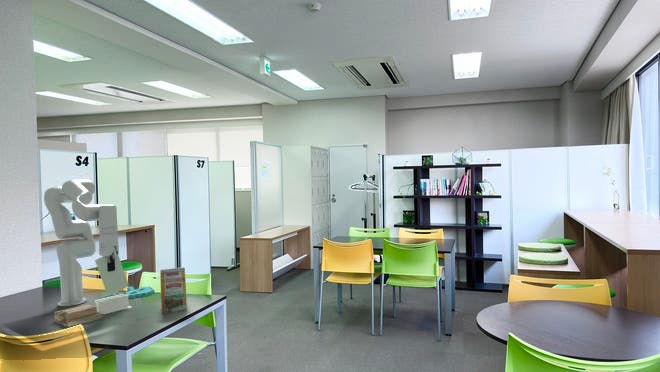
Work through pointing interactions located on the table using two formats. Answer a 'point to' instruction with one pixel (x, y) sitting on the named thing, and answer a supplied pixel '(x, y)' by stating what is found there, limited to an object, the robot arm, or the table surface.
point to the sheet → (112, 275)
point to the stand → (112, 304)
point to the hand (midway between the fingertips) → (110, 270)
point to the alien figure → (136, 292)
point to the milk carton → (173, 290)
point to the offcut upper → (79, 311)
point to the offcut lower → (76, 318)
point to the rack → (78, 321)
